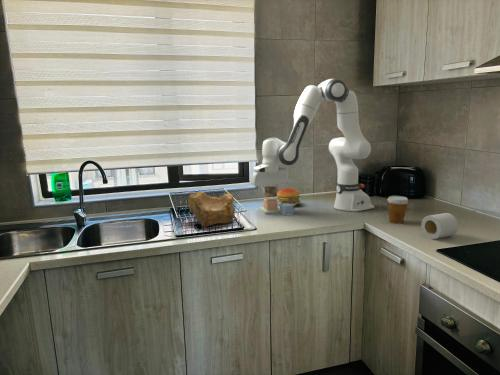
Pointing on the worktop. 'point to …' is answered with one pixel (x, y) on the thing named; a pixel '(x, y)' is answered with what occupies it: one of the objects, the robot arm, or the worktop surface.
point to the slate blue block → (286, 208)
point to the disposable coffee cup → (397, 208)
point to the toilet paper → (439, 225)
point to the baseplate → (269, 211)
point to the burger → (288, 196)
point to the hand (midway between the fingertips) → (270, 192)
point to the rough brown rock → (211, 208)
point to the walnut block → (271, 191)
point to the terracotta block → (270, 204)
